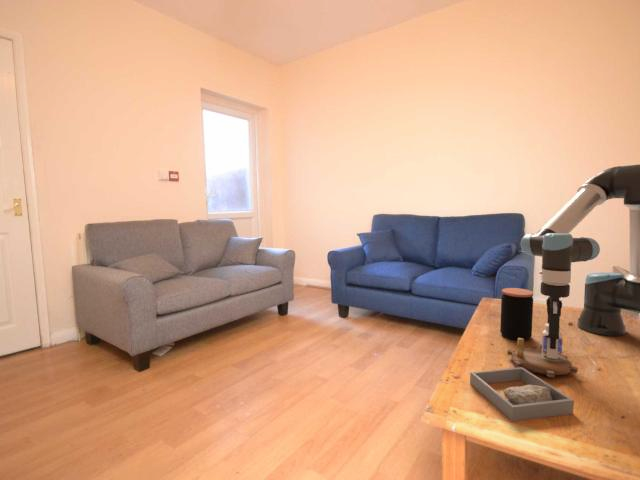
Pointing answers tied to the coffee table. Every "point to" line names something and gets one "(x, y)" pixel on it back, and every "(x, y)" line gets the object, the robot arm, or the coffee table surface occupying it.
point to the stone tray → (521, 411)
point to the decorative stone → (527, 394)
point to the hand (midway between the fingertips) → (551, 353)
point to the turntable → (540, 361)
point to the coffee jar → (516, 313)
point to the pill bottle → (544, 340)
